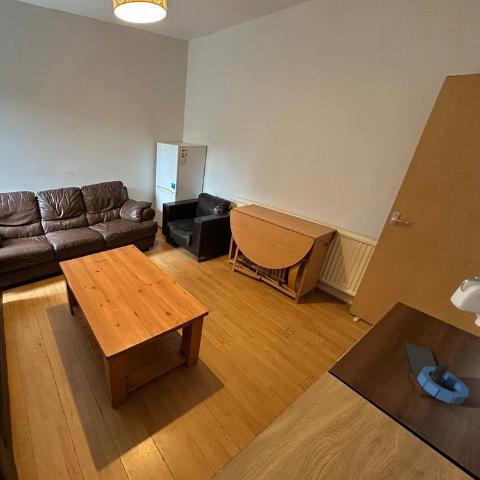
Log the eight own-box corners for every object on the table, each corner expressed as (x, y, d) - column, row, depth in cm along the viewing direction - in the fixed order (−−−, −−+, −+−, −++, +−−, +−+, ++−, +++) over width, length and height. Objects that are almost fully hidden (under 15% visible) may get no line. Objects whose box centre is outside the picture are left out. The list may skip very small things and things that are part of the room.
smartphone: (432, 350, 86) (444, 384, 75) (431, 352, 86) (442, 386, 75) (403, 340, 90) (410, 372, 78) (402, 342, 90) (409, 374, 79)
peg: (436, 382, 76) (453, 357, 72) (451, 404, 70) (471, 379, 66) (407, 375, 78) (422, 351, 74) (419, 396, 72) (436, 371, 68)
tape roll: (449, 378, 76) (454, 371, 74) (472, 409, 67) (478, 402, 66) (411, 369, 78) (415, 362, 77) (428, 398, 70) (433, 391, 69)
